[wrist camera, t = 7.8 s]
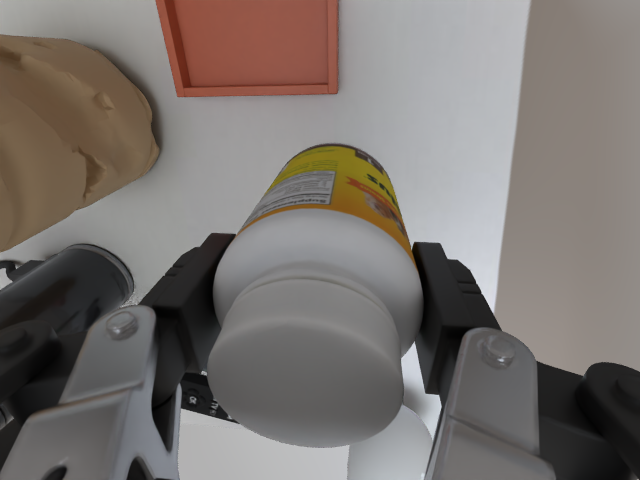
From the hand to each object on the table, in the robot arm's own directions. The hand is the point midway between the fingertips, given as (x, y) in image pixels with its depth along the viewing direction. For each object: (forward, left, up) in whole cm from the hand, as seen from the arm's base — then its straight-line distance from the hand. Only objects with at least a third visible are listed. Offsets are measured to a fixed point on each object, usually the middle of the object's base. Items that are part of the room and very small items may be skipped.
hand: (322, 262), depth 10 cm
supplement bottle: (0, 0, -6) cm, 6 cm away
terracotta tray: (-7, +9, -21) cm, 25 cm away
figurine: (+7, -40, -22) cm, 46 cm away
